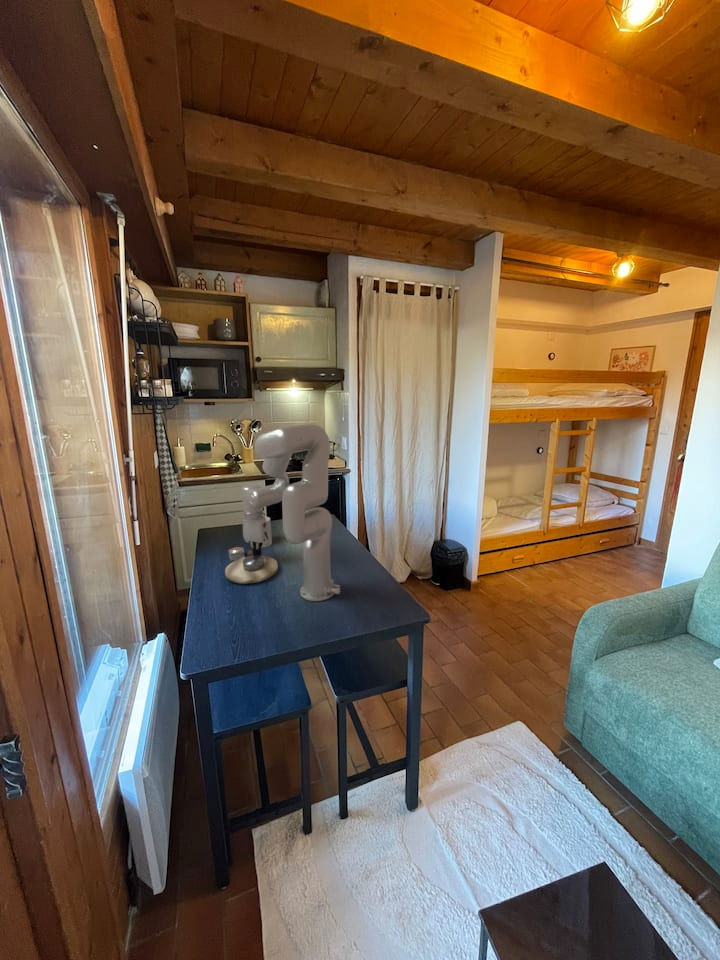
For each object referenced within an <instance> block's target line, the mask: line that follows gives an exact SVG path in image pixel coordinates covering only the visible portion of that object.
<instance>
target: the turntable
mask: <svg viewBox="0 0 720 960" xmlns="http://www.w3.org/2000/svg"><path fill="white" fill-rule="evenodd" d="M249 556H253V549H249V550H247V556H245V558H246V557H249ZM261 556H262V557H263V558H264V567H263V568H262V569H260V570H258V571H253V572H249V571H245V570H244V569H243V559H245V558H241V559H237V560H233V561H231V563H229V564H228V565H227V566H226V568H225V571H224V573H225V577H226V579H227V580H229V581H230V582H232V583H236V584H242V585H243V584H255V583H259V582H262V581H266V580H268V579H269V578H271V577H273V576H274V575H275V574H276V573H277V572H278V569H279V565H278V562H277V559H275V558H273V557H271V556H265V555H261Z"/></svg>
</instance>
